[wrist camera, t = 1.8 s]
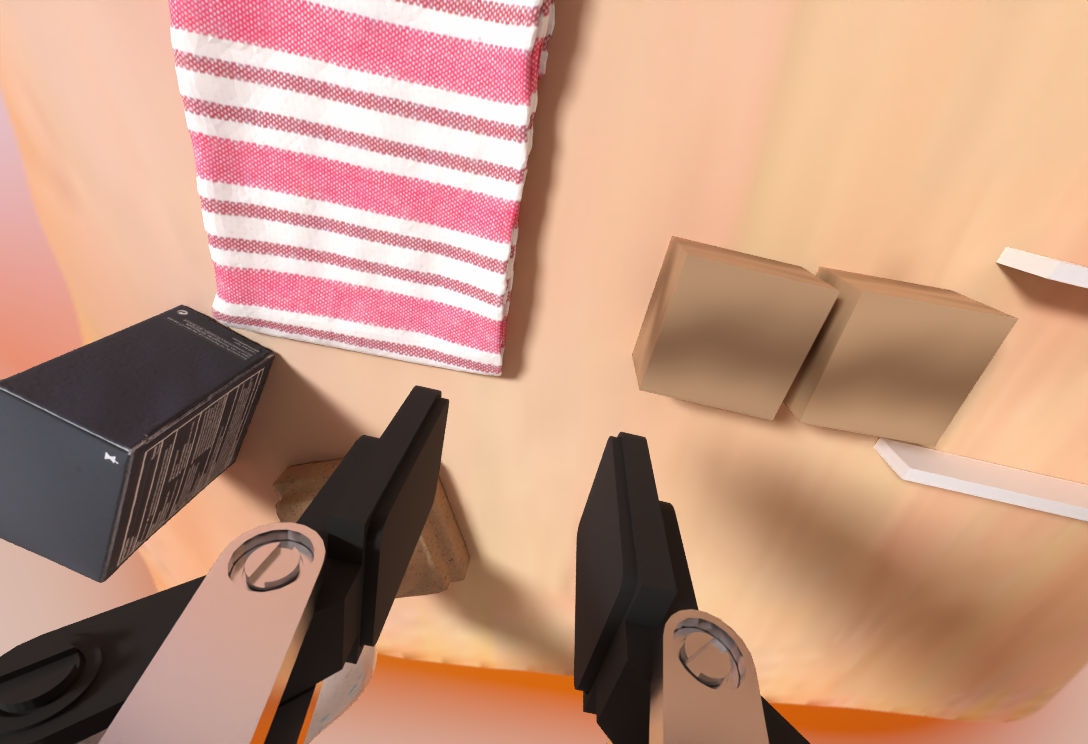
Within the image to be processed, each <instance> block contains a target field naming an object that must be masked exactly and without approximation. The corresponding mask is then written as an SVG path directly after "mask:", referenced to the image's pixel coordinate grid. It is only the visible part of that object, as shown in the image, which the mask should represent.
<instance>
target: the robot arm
mask: <svg viewBox="0 0 1088 744" xmlns="http://www.w3.org/2000/svg"><path fill="white" fill-rule="evenodd" d="M448 407H449V399H445V398H441V391H439V390H435V389H430V388H426V387H421V386H415V387H414V388H413V389H412V391H411V392H410V394H409V395H408V397H407V398H406V400H405V401H404V403H403V404H402V406H401V407H400V409H399V410H398V412H397V413H396V415H395V416H394V418H393V419H392V421H391V422H390V424H389V425H388V427H387V428H386V430H385V431H384V433H383V434H382V436H381V437H380V438H375V437H371V436H366V435H363V436H361V437H360V438H359V439H358V440H357V441H356V442H355V444H354V445H353V446H352V448H351V449H350V450H349V452H348V453H347V455H346V456H345V457H344V459H343V460H342V461H341V463H340V464H339V465H338V467H337V468H336V469H335V471H334V472H333V474H332V475H331V476H330V478H329V479H328V480H327V482H326V483H325V484H324V486H323V487H322V488H321V490H320V491H319V492H318V494H317V495H316V497H315V498H314V499H313V501H312V502H311V503H310V505H309V506H308V507H307V509H306V510H305V511H304V513H303V514H302V515H301V517H300V518H299V520H298V521H297V522H296V523H292V522H286V523H272V524H268V525H263V526H259V527H257V528H255V529H252V530H250V531H248V532H245V533H244V534H242V535H241V536H239V537H238V538H236V539H235V540H234V541H232V542H231V543H230V544H229V545H228V546H227V547H226V548H225V550H224V551H223V552H222V553H221V554H220V556H219V557H218V559H217V560H216V562H215V563H214V565H213V566H212V568H211V570H210V571H209V573H208V574H207V575H205V576H203V577H200V578H197V579H194V580H192V581H189V582H186V583H183V584H181V585H178V586H175V587H172V588H170V589H167V590H164V591H161V592H159V593H156V594H153V595H150V596H148V597H145V598H142V599H140V600H137V601H134V602H131V603H128V604H125V605H123V606H120V607H117V608H114V609H112V610H109V611H106V612H104V613H101V614H98V615H95V616H93V617H90V618H87V619H84V620H82V621H79V622H76V623H73V624H70V625H68V626H65V627H62V628H59V629H57V630H54V631H51V632H48V633H46V634H43V635H40V636H38V637H36V638H34V639H32V640H30V641H27V642H25V643H23V644H21V645H18V646H16V647H15V648H13V649H12V650H10V651H9V652H7V653H6V654H4V655H2V656H1V657H0V744H304V741H305V738H306V735H307V732H308V729H309V725H310V722H311V719H312V716H313V713H314V710H315V707H316V704H317V700H318V697H319V694H320V691H321V688H322V685H323V680H324V679H326V678H328V677H330V676H332V675H333V674H335V673H337V672H339V671H341V670H342V669H343V667H344V665H345V662H348V663H352V664H357V662H358V659H359V657H360V655H361V652H362V650H363V648H364V645H366V646H371V647H374V646H375V644H376V643H377V641H378V638H379V636H380V633H381V631H382V629H383V626H384V624H385V621H386V619H387V616H388V614H389V611H390V609H391V606H392V604H393V601H394V599H395V597H396V594H397V592H398V589H399V587H400V584H401V582H402V579H403V577H404V574H405V572H406V570H407V567H408V565H409V562H410V560H411V557H412V555H413V552H414V550H415V547H416V545H417V543H418V540H419V538H420V535H421V533H422V530H423V528H424V525H425V523H426V520H427V518H428V516H429V513H430V511H431V508H432V505H433V502H434V499H435V495H436V489H437V482H438V476H439V469H440V462H441V455H442V448H443V441H444V434H445V427H446V421H447V414H448ZM574 686H575V689H576V690H581V691H583V693H584V694H583V711H584V712H588V713H592V714H597V723H598V725H599V726H600V727H601V729H602V730H603V731H604V733H605V734H606V735H607V737H608V739H607V743H606V744H810V743H809V742H808V741H807V740H806V739H805V738H804V737H803V736H802V735H801V734H800V733H799V732H798V731H797V730H796V729H795V728H794V727H793V726H792V725H791V724H790V723H789V722H788V721H787V720H786V719H784V718H783V717H782V716H781V715H780V714H779V713H778V712H777V711H776V710H775V709H774V708H773V707H772V706H771V705H770V704H769V703H768V702H767V701H766V700H765V699H764V698H763V697H762V696H761V695H760V690H759V684H758V679H757V673H756V668H755V665H754V662H753V659H752V656H751V653H750V652H749V650H748V648H747V647H746V645H745V643H744V642H743V640H742V639H741V638H740V637H739V636H738V635H737V633H736V632H735V631H734V630H733V629H732V628H731V627H730V626H728V625H727V624H726V623H724V622H723V621H722V620H720V619H719V618H717V617H715V616H713V615H711V614H709V613H706V612H703V611H699V610H698V606H697V602H696V598H695V594H694V589H693V585H692V581H691V577H690V573H689V568H688V564H687V560H686V556H685V552H684V547H683V543H682V539H681V535H680V531H679V526H678V522H677V518H676V514H675V510H674V508H673V506H672V505H671V504H670V503H667V502H663V501H659V499H658V494H657V489H656V484H655V479H654V474H653V469H652V464H651V459H650V454H649V449H648V444H647V440H646V438H645V437H642V436H638V435H633V434H629V433H624V432H620V433H619V435H618V437H613V436H610V437H609V439H608V441H607V444H606V447H605V450H604V453H603V456H602V459H601V462H600V465H599V467H598V470H597V473H596V476H595V479H594V482H593V485H592V488H591V491H590V494H589V497H588V500H587V503H586V506H585V508H584V511H583V514H582V517H581V520H580V523H579V527H578V532H577V551H576V603H575V655H574Z"/></svg>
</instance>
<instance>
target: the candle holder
mask: <svg viewBox="0 0 1088 744" xmlns="http://www.w3.org/2000/svg"><path fill="white" fill-rule="evenodd" d="M343 459H344V458H342V459H335V460H328V461H320V462H313V463H307V464H301V465H296V466H291V467H289V468H287V469H286V470H285V471H284V472H283V473H282V474H281V476H280V477H279V478H278V479H277V480H276V481H275V483H274V484H273V488H274V490H275V492H276V494H277V496H278V498H279V502H278V503H277V504H276V509H277V515H278V517H279V519H280V521H281V523H286V522H292V523H296V522H297V521H298V520H299V518H300V517H301V515H302V514H303V513H304V511H305V510H306V509H307V507H308V506H309V505H310V503H311V502H312V501H313V499H314V498H315V497H316V495H317V494H318V492H319V491H320V490H321V488H322V487H323V486H324V484H325V483H326V482H327V480H328V479H329V478H330V476H331V475H332V474H333V472H334V471H335V469H336V468H337V467H338V465H339V464H340V463H341V461H342V460H343ZM468 564H469V554H468V551H467V548H466V545H465V542H464V540H463V537H462V534H461V532H460V529H459V527H458V524H457V522H456V519H455V516H454V514H453V511H452V509H451V506H450V504H449V501H448V498H447V496H446V493H445V491H444V488H443V486H442V483H441V480H440V478H439V476H438V482H437V489H436V495H435V499H434V502H433V505H432V508H431V511H430V513H429V516H428V518H427V520H426V523H425V525H424V528H423V530H422V533H421V535H420V538H419V540H418V543H417V545H416V547H415V550H414V552H413V555H412V557H411V560H410V562H409V565H408V567H407V570H406V572H405V574H404V577H403V579H402V582H401V584H400V587H399V589H398V592H397V594H396V597H395V598H401V597H410V596H420V595H428V594H433V593H439V592H441V591H444V590H446V589H447V588H448V585H449V582H455V581H461V580H464V577H465V574H466V571H467V567H468ZM376 659H377V647H376V644H375V646H374V647H371V646H366V645H364V648H363V650H362V652H361V655H360V657H359V659H358V662H357V664H352V663H348V662H345V665H344V667H343V669H342V670H341V671H339V672H337V673H335V674H333V675H332V676H330V677H328V678H326V679H324V680H323V685H322V688H321V691H320V694H319V697H318V700H317V704H316V707H315V710H314V713H313V716H312V719H311V722H310V725H309V729H308V732H307V735H306V738H305V741H304V744H309V743H310V742H311V741H312V740H313V739H314V738H315V737H316V736H317V735H318V734H320V733H321V732H322V731H323V730H324V729H325V728H327V727H328V726H329V725H330V724H332V723H333V722H334V721H335V720H336V719H337V718H339V717H340V716H341V715H342V714H343V713H344V712H345V711H347V710H348V709H349V707H351V706H352V704H354V703H355V702H356V701H357V700H358V698H359V697H360V696H361V694H362V693H363V692H364V690H365V688H366V687H367V685H368V684H369V682H370V680H371V678H372V675H373V672H374V669H375V666H376Z"/></svg>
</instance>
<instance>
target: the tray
mask: <svg viewBox="0 0 1088 744" xmlns="http://www.w3.org/2000/svg"><path fill="white" fill-rule="evenodd" d="M997 263H1000V264H1003V265H1006V266H1009V267H1012V268H1016V269H1019V270H1022V271H1025V272H1028V273H1031V274H1034V275H1038V276H1041V277H1044V278H1047V279H1051V280H1055V281H1059V282H1063V283H1068V284H1072V285H1076V286H1080V287H1084V288H1088V267H1087V266H1083V265H1079V264H1075V263H1071V262H1067V261H1063V260H1059V259H1054V258H1050V257H1046V256H1042V255H1038V254H1034V253H1030V252H1026V251H1022V250H1018V249H1014V248H1009V247H1006V248H1005V250H1004V251H1003V253H1002V254H1001V256H1000V257H999V259H998V260H997ZM873 448H874V449H875V450H876V451H877V452H878V453H879V455H880V456H881V457H882V458H883V459H884V460H885V461H886V462H887V463H888V464H889V465H890V467H891V468H892V469H893V470H894V471H895V472H896V473H897V474H898V475H899V476H900V478H901V479H904V480H908V481H912V482H917V483H921V484H926V485H930V486H934V487H939V488H943V489H948V490H952V491H956V492H961V493H965V494H970V495H974V496H978V497H983V498H987V499H991V500H996V501H1000V502H1005V503H1009V504H1013V505H1018V506H1022V507H1027V508H1031V509H1035V510H1040V511H1044V512H1049V513H1053V514H1057V515H1062V516H1066V517H1071V518H1075V519H1079V520H1084V521H1088V485H1086V484H1081V483H1077V482H1073V481H1068V480H1064V479H1060V478H1055V477H1051V476H1046V475H1042V474H1038V473H1033V472H1029V471H1025V470H1020V469H1016V468H1012V467H1007V466H1003V465H999V464H994V463H990V462H986V461H981V460H977V459H973V458H968V457H964V456H960V455H955V454H951V453H947V452H942V451H938V450H934V449H929V448H925V447H920V446H916V445H912V444H907V443H903V442H899V441H894V440H890V439H886V438H881V437H880V438H879V440H878V441H877V443H876V444H875V446H874V447H873Z"/></svg>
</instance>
